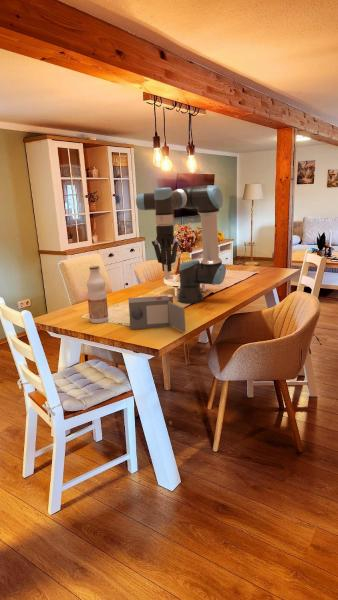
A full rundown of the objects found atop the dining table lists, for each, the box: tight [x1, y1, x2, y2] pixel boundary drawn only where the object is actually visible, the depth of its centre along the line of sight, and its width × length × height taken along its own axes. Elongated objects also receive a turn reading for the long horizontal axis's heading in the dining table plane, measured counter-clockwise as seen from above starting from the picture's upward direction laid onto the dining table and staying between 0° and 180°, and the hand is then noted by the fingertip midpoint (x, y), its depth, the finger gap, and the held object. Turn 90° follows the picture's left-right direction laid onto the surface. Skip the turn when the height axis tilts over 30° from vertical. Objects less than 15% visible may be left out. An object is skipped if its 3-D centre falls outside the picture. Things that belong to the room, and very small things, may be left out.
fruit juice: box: [86, 265, 109, 324], centre depth 199 cm, size 9×9×28 cm
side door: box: [168, 301, 186, 333], centre depth 182 cm, size 12×2×12 cm, turn 30°
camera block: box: [128, 295, 171, 331], centre depth 190 cm, size 19×10×14 cm, turn 97°
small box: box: [155, 294, 174, 303], centre depth 206 cm, size 8×6×10 cm
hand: (167, 278), depth 177 cm, fingers closed
